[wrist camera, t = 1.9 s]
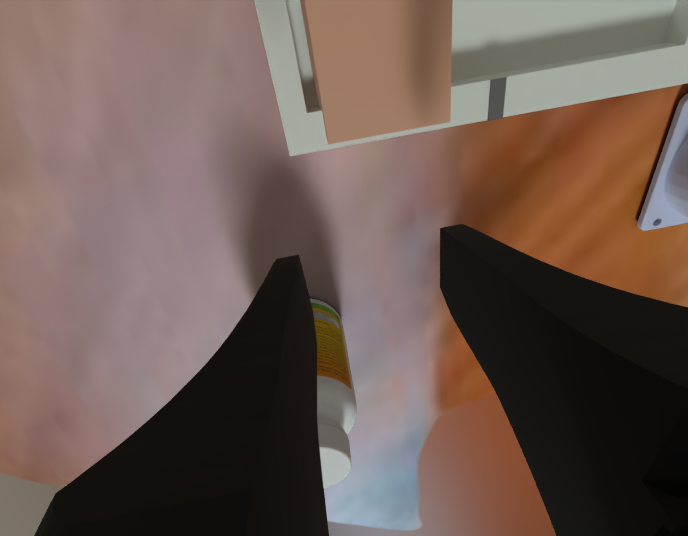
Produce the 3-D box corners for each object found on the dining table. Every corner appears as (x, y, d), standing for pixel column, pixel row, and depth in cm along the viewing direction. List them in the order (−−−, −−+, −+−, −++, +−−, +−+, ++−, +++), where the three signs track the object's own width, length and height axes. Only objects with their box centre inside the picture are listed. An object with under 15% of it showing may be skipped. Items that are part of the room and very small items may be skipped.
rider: (410, -53, 13) (453, -76, 9) (415, 99, 15) (450, 121, 12) (294, -33, 13) (296, -49, 9) (320, 116, 15) (328, 144, 12)
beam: (687, -149, 14) (796, -194, 11) (627, 82, 19) (692, 95, 16) (244, -73, 14) (231, -97, 11) (292, 143, 18) (292, 169, 15)
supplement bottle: (249, 307, 24) (229, 455, 16) (331, 286, 24) (353, 425, 16) (276, 362, 27) (271, 509, 19) (349, 344, 27) (375, 484, 19)
